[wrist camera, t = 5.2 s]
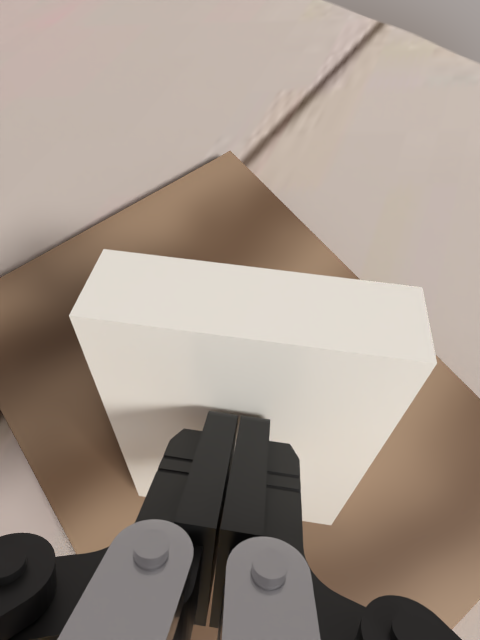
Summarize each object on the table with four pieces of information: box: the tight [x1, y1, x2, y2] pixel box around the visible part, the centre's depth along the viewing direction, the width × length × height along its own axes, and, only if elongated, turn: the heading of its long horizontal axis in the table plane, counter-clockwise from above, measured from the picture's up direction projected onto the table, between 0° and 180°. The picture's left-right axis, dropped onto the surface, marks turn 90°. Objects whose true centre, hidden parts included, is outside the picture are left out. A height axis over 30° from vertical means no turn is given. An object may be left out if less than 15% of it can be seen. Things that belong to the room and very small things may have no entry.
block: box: [69, 249, 437, 525], centre depth 13 cm, size 2×7×10 cm, turn 82°
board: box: [0, 151, 480, 640], centre depth 19 cm, size 22×16×1 cm
